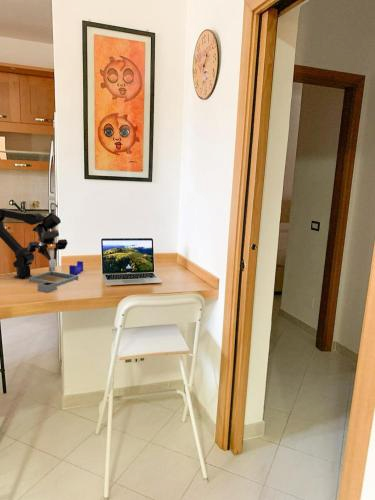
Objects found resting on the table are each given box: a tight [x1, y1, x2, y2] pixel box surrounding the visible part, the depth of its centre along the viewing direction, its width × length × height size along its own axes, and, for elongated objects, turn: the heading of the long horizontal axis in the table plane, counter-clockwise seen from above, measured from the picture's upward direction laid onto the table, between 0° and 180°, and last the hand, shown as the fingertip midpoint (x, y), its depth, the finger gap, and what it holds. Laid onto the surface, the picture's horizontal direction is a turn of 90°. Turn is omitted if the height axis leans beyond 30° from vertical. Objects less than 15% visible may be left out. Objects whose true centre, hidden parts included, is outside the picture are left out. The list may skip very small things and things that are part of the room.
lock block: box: [37, 280, 58, 293], centre depth 177 cm, size 6×6×4 cm
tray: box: [28, 271, 79, 287], centre depth 194 cm, size 18×16×3 cm
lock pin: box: [47, 244, 56, 272], centre depth 188 cm, size 4×4×14 cm
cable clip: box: [68, 260, 84, 276], centre depth 213 cm, size 12×4×6 cm, turn 173°
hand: (52, 259), depth 187 cm, fingers closed on lock pin, 3 cm apart
